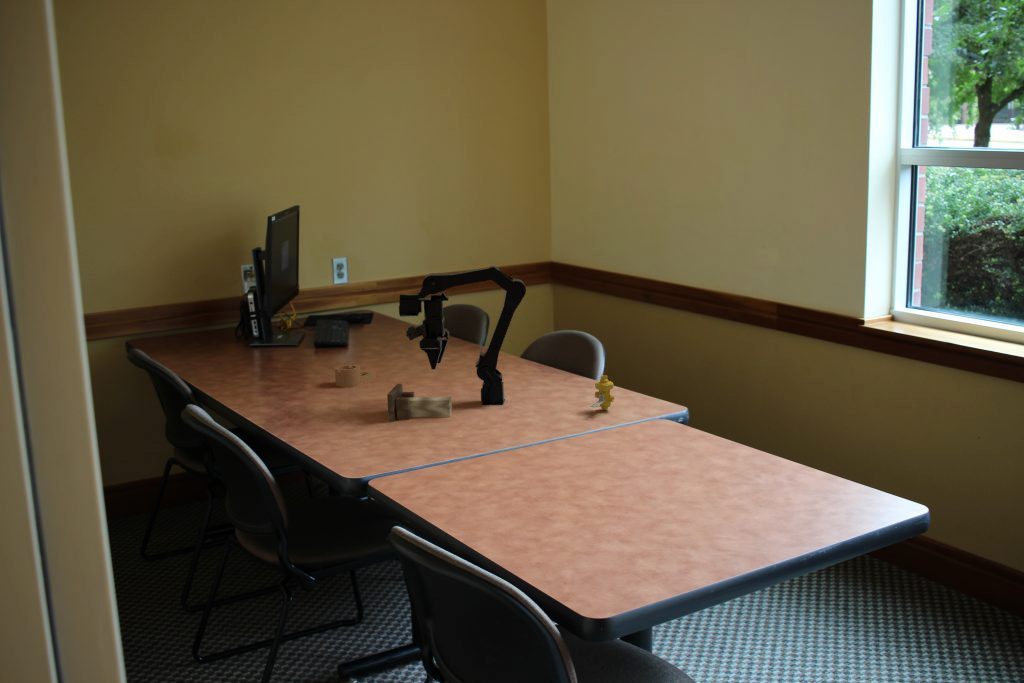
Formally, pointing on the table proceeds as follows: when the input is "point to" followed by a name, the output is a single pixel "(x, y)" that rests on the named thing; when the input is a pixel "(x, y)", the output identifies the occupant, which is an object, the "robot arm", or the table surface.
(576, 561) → the table surface
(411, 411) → the rail
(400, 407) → the headboard
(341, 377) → the bracket
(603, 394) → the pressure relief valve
